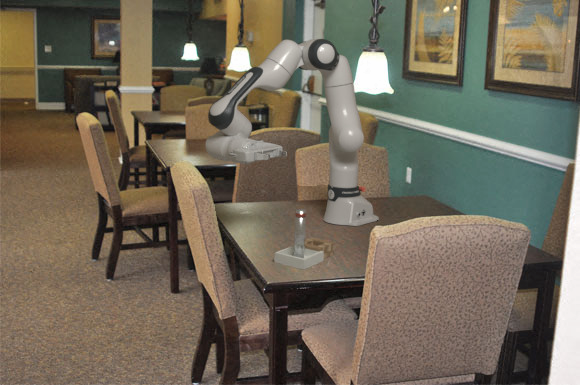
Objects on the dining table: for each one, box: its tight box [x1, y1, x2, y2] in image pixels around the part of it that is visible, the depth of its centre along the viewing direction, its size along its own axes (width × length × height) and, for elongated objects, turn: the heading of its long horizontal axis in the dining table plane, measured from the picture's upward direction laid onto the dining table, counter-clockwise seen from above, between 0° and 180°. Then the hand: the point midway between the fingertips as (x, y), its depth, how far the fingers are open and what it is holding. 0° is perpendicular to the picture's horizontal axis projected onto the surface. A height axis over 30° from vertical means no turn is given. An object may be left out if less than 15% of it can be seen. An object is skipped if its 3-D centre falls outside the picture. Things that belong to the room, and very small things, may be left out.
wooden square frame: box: [305, 237, 335, 260], centre depth 212 cm, size 9×9×4 cm
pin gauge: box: [293, 208, 307, 258], centre depth 204 cm, size 3×3×16 cm
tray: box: [273, 244, 324, 271], centre depth 205 cm, size 11×11×3 cm
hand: (277, 155), depth 219 cm, fingers open, 8 cm apart
